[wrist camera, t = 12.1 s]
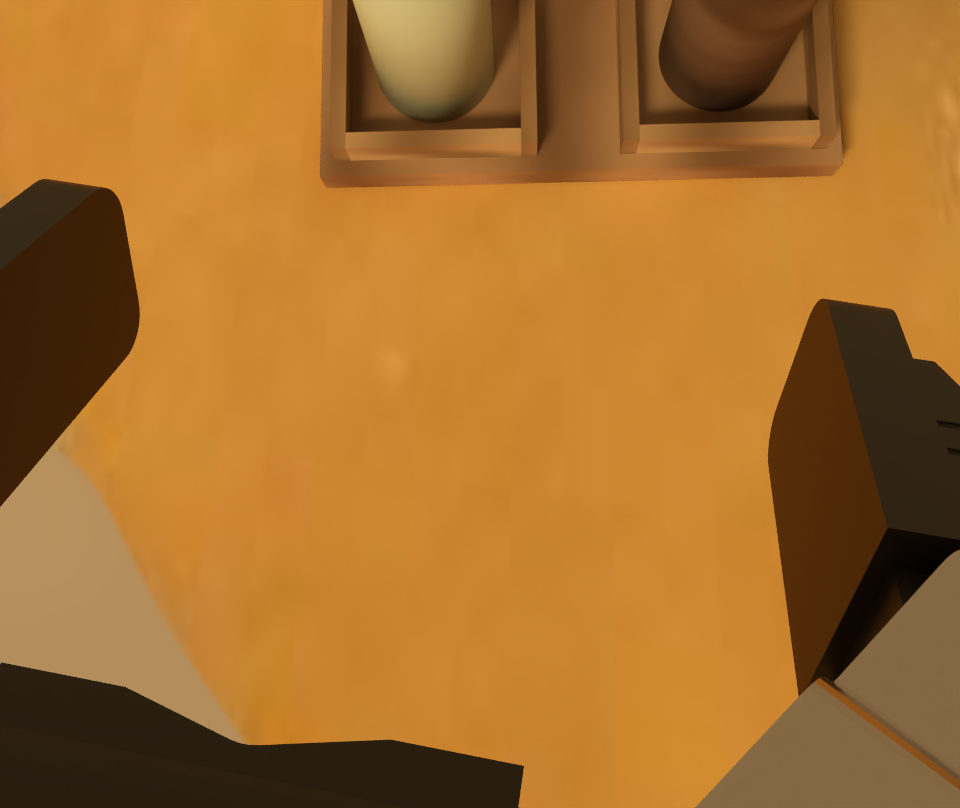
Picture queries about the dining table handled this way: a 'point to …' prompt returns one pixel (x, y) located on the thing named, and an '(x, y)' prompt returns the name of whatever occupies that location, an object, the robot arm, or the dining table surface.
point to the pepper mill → (727, 48)
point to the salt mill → (430, 54)
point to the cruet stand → (577, 107)
